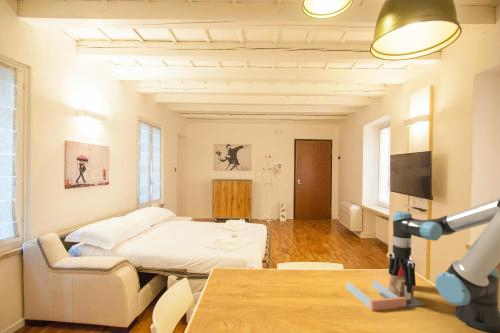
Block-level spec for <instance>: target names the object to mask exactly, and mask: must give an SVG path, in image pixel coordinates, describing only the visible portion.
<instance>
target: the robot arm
mask: <svg viewBox="0 0 500 333" xmlns="http://www.w3.org/2000/svg"><path fill="white" fill-rule="evenodd" d="M392 215H393V217H392V226H393V227H392V253H389V255H388V256H389V266H388V274H389V275H390V276H398V272H399V269H400V266H401V269H402V270H403V274H404V278H405V282H406V284H404V297H405V298H406V300H408V299H411V292H412V286H414V287H415V286H416V284H417V283H416V270H415V269H416V268H415V267H416V263H415V262H413V263H412V262H411V261H410V259H409V257H410V258H411V256H412V247H411V246H412V236H414V237H417V238H421V239H424V240H428V241H429V240H430V241H438V240H439V239H440V238H441V237H443V236H449V235H453V234H455V233H457V232H461V231H465V230H469V229H471V228H475V227H479V226H482V225H486V224H487V225H486V227H485V228H484V229H483V231H482V232H481V233H480V234H479V236H478V237H477V238H476V240H475V241H474V242H473V244H472V245H471V246H470V247H469V248H468V250H467V251H466V253H465V254H464V256H463V257H462V258H461V260H454V261H452V263H451V264H450V266H449V267H448V268H447V270H445V271H442V272H440V273H439V274H438V275H437V276H436V278H435V287H436V290H437V292H438V293H439V295H440V297H442V299H443V300H445V301H446V302H448V303H449V304H451V305H453V306H454V305H455V306H456V307H455V309H454V311H455V312H454V313H455V314H454V315H455V317H456V318H457V319H458V321H459V320H460V321H461V322H462V323H464V324H466V325H467V326H469V327H472V328H474V329H477V330H480V331H484V332H491V333H498V332H500V309H499V308H500V307H499V285H500V284H499V280H500V276H499V270H498V269H497V268H496V267H497V266H498V264H500V197H498V198H497V197H496V198H494V199H491V200H489V201H486V202H483V203H480V204H477V205H474V206H471V207H467V208H465V209H462V210H460V211H457V212H454V213H450V214H448V215H444V216H440V217H438V218H431V219H418V218H413V215H412V213H411V212H408V211H399V210H398V211H395V212H393V214H392ZM406 266H407V267H406ZM408 282H409V283H408Z"/></svg>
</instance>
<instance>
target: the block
mask: <svg viewBox="0 0 500 333" xmlns="http://www.w3.org/2000/svg"><path fill="white" fill-rule="evenodd" d="M408 283H409V282H408ZM404 284H406V282H405V278H404V276H391V275H390V276H389V285H388V289H389V291H391V292H392V293H394V294H395V295H397V296H398V297H404ZM414 292H415V286H412V292H411V298H413V297H414Z"/></svg>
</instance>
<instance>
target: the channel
mask: <svg viewBox="0 0 500 333" xmlns="http://www.w3.org/2000/svg"><path fill="white" fill-rule="evenodd" d="M371 287H372V288H374V290H376V291H377V292H379V294H380V293H384V294H385V295H386V296H388V297H389V298H378V299H377V298H375V299H372V298H370V297H369V296H368V295H367V294H365V292H363V291H362V290H360V289H359V288H357V287H356V286H355V285H354V284H353V283H352V282H350V281H349V282H345V290H347V291H348V292H349V293H350V294H352V295H353V296H354V297H355V298H357V299H358V301H360V302H361V303H362V304H364V305H365V306H366V307H367V308H368V309H370V310H371V311H373V312H374V311H385V310H394V309H400V308H399V307H402V308H401V309H404V308H403V306H406V298H405V297H398V296H397V295H395V294H394V293H392V292H391V291H389V287H387V286H385V285H383V283H382V284H381V283H380V282H379V281H377V280H371Z"/></svg>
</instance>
